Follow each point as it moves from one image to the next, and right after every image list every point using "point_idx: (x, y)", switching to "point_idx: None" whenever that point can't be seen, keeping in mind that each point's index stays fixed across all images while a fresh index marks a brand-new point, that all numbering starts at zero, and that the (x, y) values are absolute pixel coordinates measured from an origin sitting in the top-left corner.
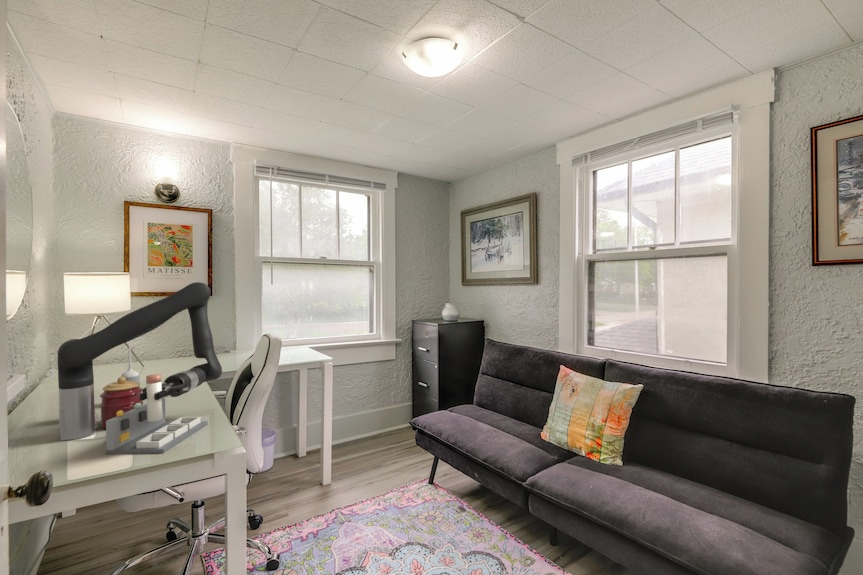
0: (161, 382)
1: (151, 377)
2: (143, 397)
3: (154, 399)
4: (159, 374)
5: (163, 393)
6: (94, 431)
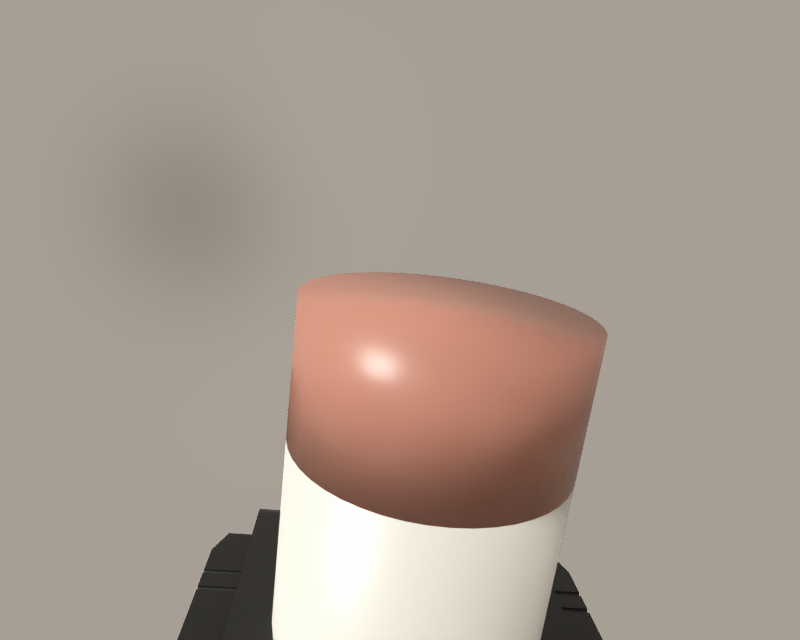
0: (294, 496)
1: (398, 279)
2: None
3: None
4: (407, 338)
5: (193, 608)
6: None
